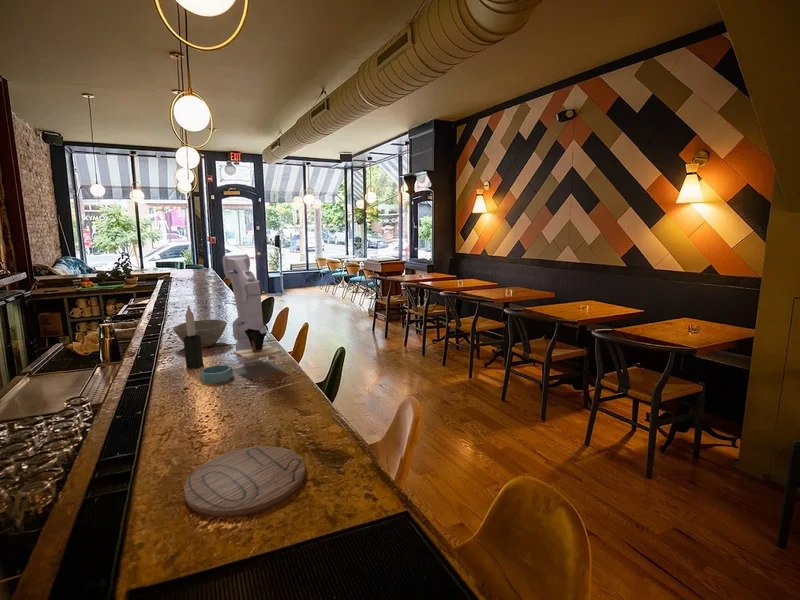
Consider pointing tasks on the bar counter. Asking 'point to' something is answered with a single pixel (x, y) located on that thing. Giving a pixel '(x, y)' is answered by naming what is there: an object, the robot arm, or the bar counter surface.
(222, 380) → the dish
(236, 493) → the trivet
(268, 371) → the tray
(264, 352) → the lid
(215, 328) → the ceramic bowl
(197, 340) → the candle
